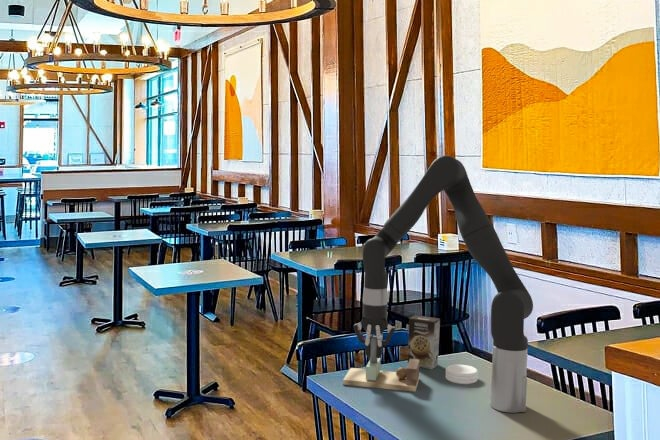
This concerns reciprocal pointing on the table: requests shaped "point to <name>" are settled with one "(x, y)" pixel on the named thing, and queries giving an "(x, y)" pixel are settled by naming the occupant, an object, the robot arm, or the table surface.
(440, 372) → the table surface
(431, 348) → the coffee box
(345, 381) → the base
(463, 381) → the white bowl
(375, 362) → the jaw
